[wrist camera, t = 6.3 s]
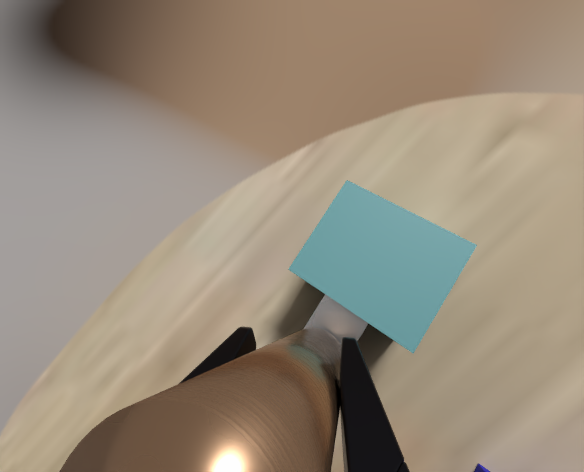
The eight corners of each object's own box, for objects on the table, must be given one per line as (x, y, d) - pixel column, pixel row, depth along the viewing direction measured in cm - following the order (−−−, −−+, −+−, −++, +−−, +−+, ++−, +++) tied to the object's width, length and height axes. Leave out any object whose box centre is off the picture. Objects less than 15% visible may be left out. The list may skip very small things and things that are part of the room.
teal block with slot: (395, 338, 15) (413, 353, 10) (306, 279, 17) (288, 269, 12) (439, 263, 16) (477, 245, 11) (349, 214, 18) (346, 179, 13)
